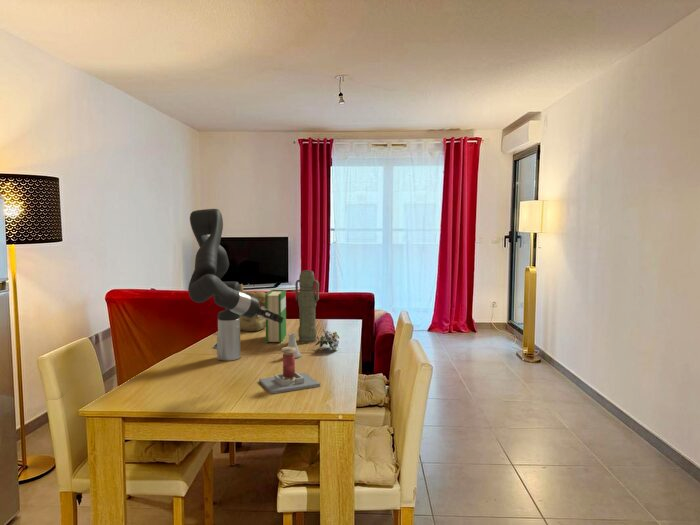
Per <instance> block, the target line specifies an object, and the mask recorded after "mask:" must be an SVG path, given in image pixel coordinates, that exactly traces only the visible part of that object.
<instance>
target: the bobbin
mask: <svg viewBox="0 0 700 525" xmlns="http://www.w3.org/2000/svg"><path fill="white" fill-rule="evenodd" d="M293 352H296V348H295V347H287V346H285V347H282V348H281V353H282V374H283V378H282V380H289V379H290V382H291V383H294V382H295V377H294V376H295V372H296V369H295V368H296V363H295V360H296V358H295V354H294V353H293Z"/></svg>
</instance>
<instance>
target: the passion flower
mask: <svg viewBox="0 0 700 525" xmlns="http://www.w3.org/2000/svg"><path fill="white" fill-rule="evenodd" d="M322 330H323V331H322V332H323V333H324V335H321V337H320V338H319V336H318V335H317V336H316V340H318V341H316V342H315V346H318V345H319V346H318V348H319V349H318V350H319V351H320V350H321V348H322V347H323V345H325V346H326V345H329V348H331V349H332V351H334V352H337V351H338V347H339V344H340V343H339V342H340V341H339V339H340V336H339V335H338V333H337V331H333V332H331V331H328V330H325V329H322Z"/></svg>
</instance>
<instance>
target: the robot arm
mask: <svg viewBox="0 0 700 525" xmlns="http://www.w3.org/2000/svg"><path fill="white" fill-rule="evenodd" d="M189 222H190V228H191V230H192V233H193V236H194V237H195V239H196V242H197V244H198V246H199V248H198V250H197V252H196V255H195V260H194V261H195V262H194V270H193V272H192V274H191V278H190V280H189V283H188V289H187V292H188V296H189V298H190V299H191V300H192V301H193V302H195V303H197V304H203V303H204V302H206V301H208V300H209V299H210V298H212V297H213V302H214V303H215V305H217V306H218V307H220V308H223V309H224V310H221V311H219V312H217V338H216V343H217V348H216V353H217V354H216V355H217V356H216V357H217V358H216V359H217V360H220V361H235V360H236V361H237V360H239V359H241V356H242V355H241V328H240V315H241V316H243V317H246V318H252V317H253V316H255V315H256V316H257V317H262V318H264V319H267V320H268V319H271V320H272V321H275V322H279V323H282V321H283V319H284V318H283V317H281V316H279V315H278V314H275V313H273V312H272V311H271V310H268V309H266V308H264V307H263V306H259V301H258V300H257V299H256V298H254V297H252V296H250V295H247V294H245V293H243V292H240V283H239V282H238V281H222V280H221V279H222V278H223V277H224V275H225V274H226V273H227V272H228V269H229V267H230V261H229V257H228V253H227V251H226V249H225V248H224V247H223V246H222V245H221V241H222V240H221V239H222V234H223V229H224V220H223V215H222V213H221V211H220V209H218V208H207V209H197V210H193V211H191V213H190V215H189Z"/></svg>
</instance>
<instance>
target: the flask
mask: <svg viewBox="0 0 700 525" xmlns="http://www.w3.org/2000/svg"><path fill="white" fill-rule="evenodd" d="M296 336H297V334H296V333H289V334H288V344H287V346H286V347H295V348H296V352H293V353H294V354H295V359H299V358H301V357H302V354H301V351H300V349H299V347H298V344H297V340H296Z"/></svg>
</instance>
